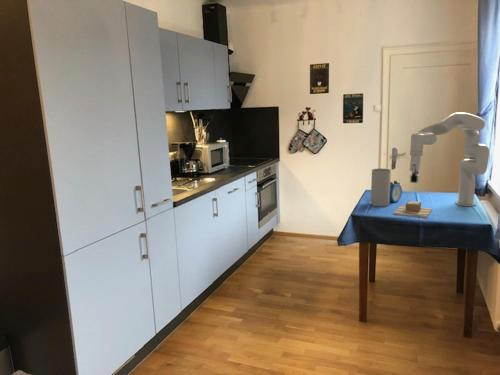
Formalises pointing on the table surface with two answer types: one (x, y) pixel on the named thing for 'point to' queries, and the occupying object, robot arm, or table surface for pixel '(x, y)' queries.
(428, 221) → the table surface
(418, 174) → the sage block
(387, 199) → the cylinder vase
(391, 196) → the alarm clock
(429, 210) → the build board
